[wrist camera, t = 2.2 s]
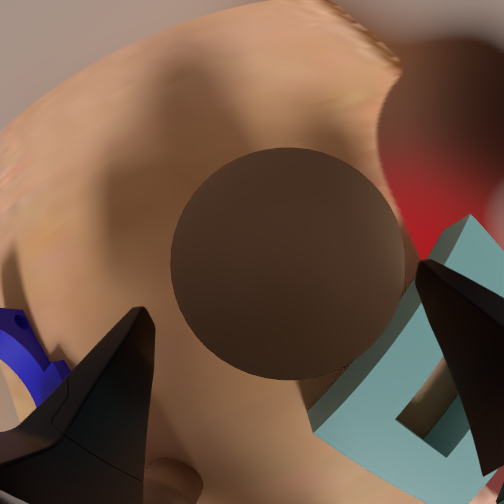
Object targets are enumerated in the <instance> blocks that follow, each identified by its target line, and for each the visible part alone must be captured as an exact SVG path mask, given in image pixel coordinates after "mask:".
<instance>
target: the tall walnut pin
mask: <svg viewBox="0 0 504 504" xmlns="http://www.w3.org/2000/svg"><path fill="white" fill-rule="evenodd" d="M405 262H406V261H405V250H404V243H403V239H402V234H401V231H400V228H399V225H398V222H397V220H396V217H395V215H394V213H393V211H392V209H391V208H390V206H389V204H388V202H387V201H386V200H385V198H384V197H383V195H382V194H381V192H380V191H379V190H378V189H377V188H376V187H375V186H374V185H373V183H372V182H371V181H370V180H368V179H367V178H366V177H365V176H364V175H363V174H362V173H360V172H359V171H358V170H356V169H355V168H353V167H352V166H350V165H349V164H347V163H345V162H343V161H341V160H339V159H337V158H335V157H333V156H330V155H327V154H324V153H322V152H317V151H313V150H309V149H301V148H274V149H266V150H262V151H258V152H254V153H251V154H248V155H245V156H243V157H240V158H238V159H236V160H234V161H232V162H230V163H229V164H227V165H225V166H224V167H222V168H221V169H219V170H218V171H216V172H215V173H214V174H213V175H211V176H210V177H209V178H208V179H207V180H206V181H205V182H204V183H203V184H202V185H201V186H200V187H199V188H198V190H197V191H196V192H195V193H194V194H193V196H192V197H191V199H190V200H189V202H188V203H187V205H186V207H185V209H184V211H183V213H182V215H181V217H180V219H179V221H178V224H177V227H176V230H175V233H174V238H173V243H172V248H171V263H170V265H171V279H172V284H173V289H174V294H175V297H176V300H177V302H178V305H179V308H180V310H181V312H182V314H183V316H184V318H185V320H186V322H187V324H188V325H189V327H190V328H191V330H192V331H193V332H194V334H195V335H196V337H197V338H198V339H199V340H200V341H201V342H202V343H203V344H204V345H205V346H206V347H207V348H208V349H209V350H210V351H211V352H213V353H214V354H215V355H216V356H217V357H219V358H220V359H222V360H223V361H225V362H226V363H228V364H230V365H231V366H233V367H235V368H237V369H240V370H242V371H244V372H247V373H249V374H252V375H256V376H260V377H264V378H269V379H277V380H301V379H307V378H313V377H318V376H321V375H324V374H327V373H331V372H333V371H335V370H337V369H339V368H341V367H344V366H346V365H347V364H349V363H350V362H352V361H353V360H355V359H357V358H358V357H359V356H361V355H362V354H363V353H364V352H365V351H366V350H368V349H369V348H370V347H371V346H372V345H373V344H374V343H375V342H376V340H377V339H378V338H379V337H380V336H381V335H382V333H383V332H384V330H385V329H386V327H387V326H388V324H389V323H390V321H391V319H392V317H393V315H394V313H395V311H396V309H397V307H398V304H399V300H400V297H401V294H402V290H403V285H404V279H405Z"/></svg>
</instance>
